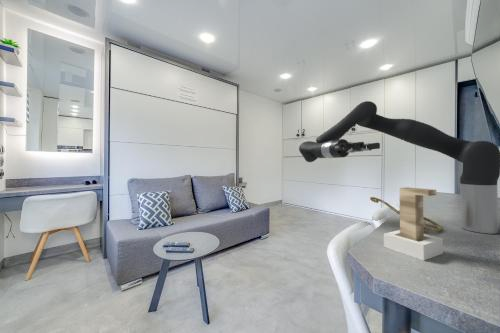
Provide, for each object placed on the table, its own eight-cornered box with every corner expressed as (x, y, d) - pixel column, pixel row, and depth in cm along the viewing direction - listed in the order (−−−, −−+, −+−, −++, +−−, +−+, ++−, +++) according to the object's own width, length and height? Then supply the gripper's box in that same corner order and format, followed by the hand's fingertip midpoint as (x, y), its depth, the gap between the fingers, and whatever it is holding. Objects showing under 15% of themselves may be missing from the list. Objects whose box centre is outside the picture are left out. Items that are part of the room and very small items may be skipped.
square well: (403, 241, 65) (403, 229, 65) (443, 253, 56) (442, 238, 56) (383, 246, 61) (383, 233, 61) (423, 260, 52) (423, 245, 52)
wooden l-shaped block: (408, 246, 61) (407, 187, 61) (437, 255, 55) (436, 189, 55) (400, 248, 59) (399, 188, 59) (429, 258, 53) (428, 190, 53)
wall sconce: (443, 222, 68) (370, 188, 87) (429, 244, 71) (361, 207, 90) (451, 216, 76) (382, 187, 95) (438, 237, 79) (374, 204, 98)
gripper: (322, 139, 83) (357, 133, 68) (346, 141, 89) (384, 135, 74) (322, 157, 83) (358, 155, 68) (346, 157, 89) (384, 155, 74)
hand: (371, 145), depth 71 cm, fingers open, 8 cm apart
